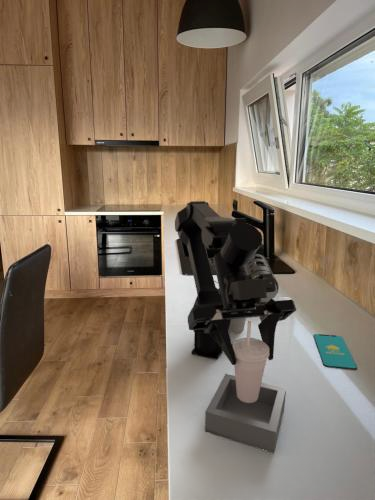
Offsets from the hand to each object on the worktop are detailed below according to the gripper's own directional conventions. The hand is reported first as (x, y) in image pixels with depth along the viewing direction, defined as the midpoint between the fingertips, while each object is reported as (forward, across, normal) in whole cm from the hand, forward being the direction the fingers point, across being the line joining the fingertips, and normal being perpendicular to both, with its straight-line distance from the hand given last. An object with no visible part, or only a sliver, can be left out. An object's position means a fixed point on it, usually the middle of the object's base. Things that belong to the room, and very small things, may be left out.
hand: (252, 362), depth 58 cm
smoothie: (+4, 0, +6) cm, 8 cm away
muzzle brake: (-32, +29, +51) cm, 67 cm away
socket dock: (+8, 0, +9) cm, 12 cm away
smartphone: (-3, +30, +22) cm, 37 cm away
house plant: (-15, +11, +33) cm, 38 cm away
